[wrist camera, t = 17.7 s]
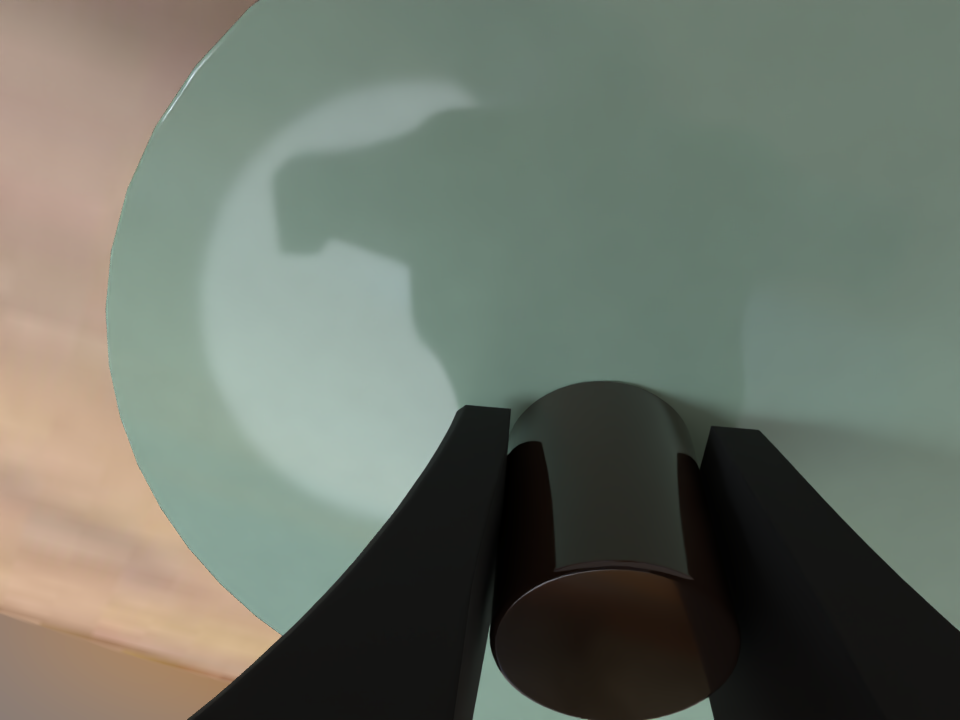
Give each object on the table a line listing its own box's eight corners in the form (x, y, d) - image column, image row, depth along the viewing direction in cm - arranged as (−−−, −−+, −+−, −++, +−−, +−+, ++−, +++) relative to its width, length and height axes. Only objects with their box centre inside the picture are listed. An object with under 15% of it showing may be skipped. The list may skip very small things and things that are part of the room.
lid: (487, 754, 16) (469, 993, 13) (-45, 292, 11) (-337, 483, 7) (1217, 523, 11) (1531, 816, 8) (893, -562, 6) (1442, -1319, 2)
